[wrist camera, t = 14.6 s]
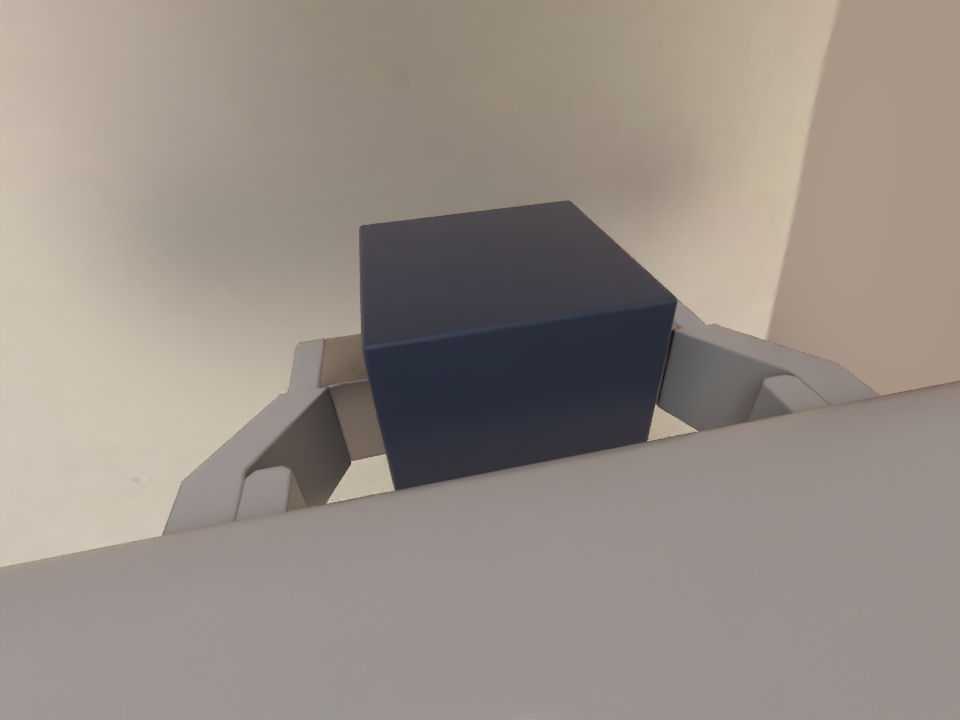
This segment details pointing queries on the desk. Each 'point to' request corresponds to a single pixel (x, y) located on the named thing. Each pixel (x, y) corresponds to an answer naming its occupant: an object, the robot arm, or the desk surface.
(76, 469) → the desk surface
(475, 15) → the desk surface
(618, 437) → the block
